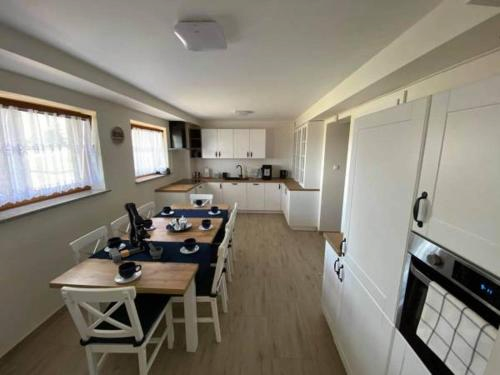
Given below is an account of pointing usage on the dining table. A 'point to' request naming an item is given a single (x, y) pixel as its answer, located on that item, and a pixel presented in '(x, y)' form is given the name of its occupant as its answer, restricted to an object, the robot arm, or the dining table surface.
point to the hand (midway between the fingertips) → (141, 249)
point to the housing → (115, 255)
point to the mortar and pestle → (155, 251)
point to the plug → (131, 251)
